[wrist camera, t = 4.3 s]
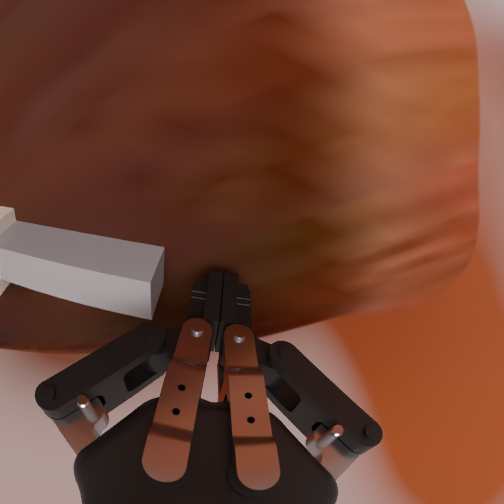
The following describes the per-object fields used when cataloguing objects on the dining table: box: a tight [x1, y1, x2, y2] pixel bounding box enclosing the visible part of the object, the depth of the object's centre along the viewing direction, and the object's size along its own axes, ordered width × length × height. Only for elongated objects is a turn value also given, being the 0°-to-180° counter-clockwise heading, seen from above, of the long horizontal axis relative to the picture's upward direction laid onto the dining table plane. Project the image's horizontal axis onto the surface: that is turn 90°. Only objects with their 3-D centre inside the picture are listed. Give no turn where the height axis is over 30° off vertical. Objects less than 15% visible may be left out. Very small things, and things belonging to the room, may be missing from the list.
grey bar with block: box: [0, 206, 165, 320], centre depth 12 cm, size 17×4×5 cm, turn 78°
